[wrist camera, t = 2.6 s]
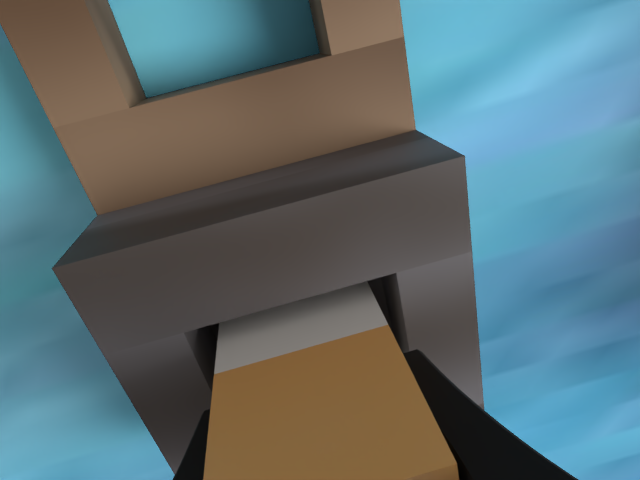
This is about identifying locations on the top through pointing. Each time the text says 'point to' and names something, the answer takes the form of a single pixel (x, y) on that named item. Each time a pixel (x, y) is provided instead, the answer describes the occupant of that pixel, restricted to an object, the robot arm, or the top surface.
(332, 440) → the plug
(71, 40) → the wooden base
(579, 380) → the top surface
